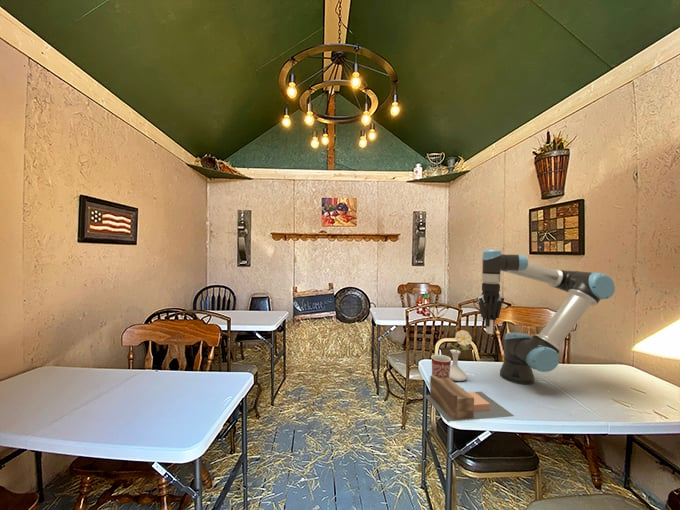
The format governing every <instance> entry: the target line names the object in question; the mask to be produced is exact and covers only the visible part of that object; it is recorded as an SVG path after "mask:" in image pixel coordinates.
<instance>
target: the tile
mask: <svg viewBox="0 0 680 510" xmlns="http://www.w3.org/2000/svg"><path fill="white" fill-rule="evenodd" d="M466 392H467V393H469V394H470V395H471V396H472V397H474V411H486V410H490V403H488V402H487V401H486V400H484V399H483V398H482V397H480V396H479V395H478V394H476V393H475V392H476V391H469V392H468V391H466Z"/></svg>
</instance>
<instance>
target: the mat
mask: <svg viewBox="0 0 680 510" xmlns="http://www.w3.org/2000/svg"><path fill="white" fill-rule="evenodd" d="M474 392H475V393H476V394H478V395H479V396H480V397H482V398H483V399H484V400H486V401H487V402H488V403H490V410H486V411H474V418H464V419H452V418H451V417H450V416H449V415H448V414H447V413H446V412H445V411H444V410H443V409H442V408H441V407H440V406H439V405H438V404H437V403H436V402H435V401H434V399H433V398H432V397H431V396H430V394H424V395H423V397H424V398H425V399H426V400H427V401H428V402H429V403H430V405H432V406H433V408H434V409H435V410H437V412H438V414H440V415H441V416H442V417H443V419H444V420H446V422H448V423H450V422H457V421H458V422H459V421H461V422H462V421H472V420H484V419H485V420H486V419H495V418H509V417H515V414H513V413H511V412H510V411H508V410H507V409H506V408H505V407H503V406H501V404H499V403H497V401H495V400H494V399H492V398H490V396H487V394H485V393H484V392H482V391H474Z"/></svg>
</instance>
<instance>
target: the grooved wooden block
mask: <svg viewBox="0 0 680 510" xmlns="http://www.w3.org/2000/svg"><path fill="white" fill-rule="evenodd" d="M429 380H430V384H429V387H430V388H429V389H430V390H429V395H430V396H431V397H432V398H433V399H434V401H435V402H436V403H437V404H438V405H439V406H440V407H441V408H442V409H443V410H444V411H445V412H446V413H447V414H448V415H449V416H450V417H451V418H452V419H464V418H474V397H472V396H471V395H470V394H469V393H467V392H468V391H467V390H464V389H463V388H462V387H461V386H460V385H458V383H456V381H454V380H451V379H450V378H437V377H435V376H434V375H432V374H431V375H430V379H429Z"/></svg>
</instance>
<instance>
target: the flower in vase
mask: <svg viewBox="0 0 680 510" xmlns="http://www.w3.org/2000/svg"><path fill="white" fill-rule="evenodd" d="M455 333H456V334H455V338H454V339H455V340H456V342H457V344H459V347H458V348H457V346H454V345H453V344H450V346H451V347H453V348H454V349H450V350H449V351H450V353H451V355H452V364H451V365H450V374H449V378H450V379H451V380H452V381H453V382H461V381H465V380H467V378H468V375H467V373H465V372H464V371H463V369H461V368H460V366H459V364H458V363H459V362H458V361H459V355H460V354H461V352H462V351H460V350H459V349H460V348H461V349H462V350H464V351H467V350H469V349H470V347H469V345H471V342H472V340H473V339H472V336H471V334H470V332H469V331H467V330H463V329H462V330H458V331H457V332H455Z"/></svg>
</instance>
